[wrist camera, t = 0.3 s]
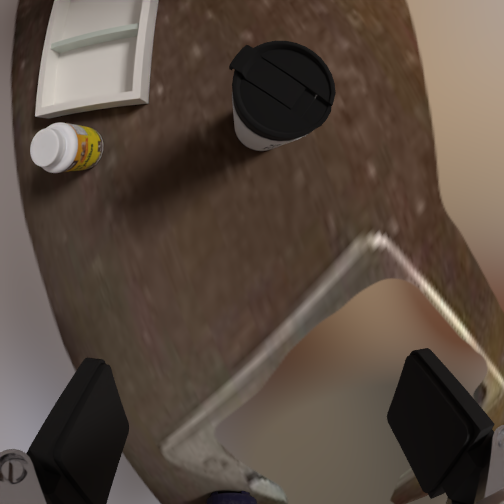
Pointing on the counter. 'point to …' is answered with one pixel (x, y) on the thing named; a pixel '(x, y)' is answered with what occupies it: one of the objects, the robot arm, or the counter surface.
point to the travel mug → (279, 94)
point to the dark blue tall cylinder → (231, 498)
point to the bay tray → (96, 56)
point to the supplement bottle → (66, 148)
